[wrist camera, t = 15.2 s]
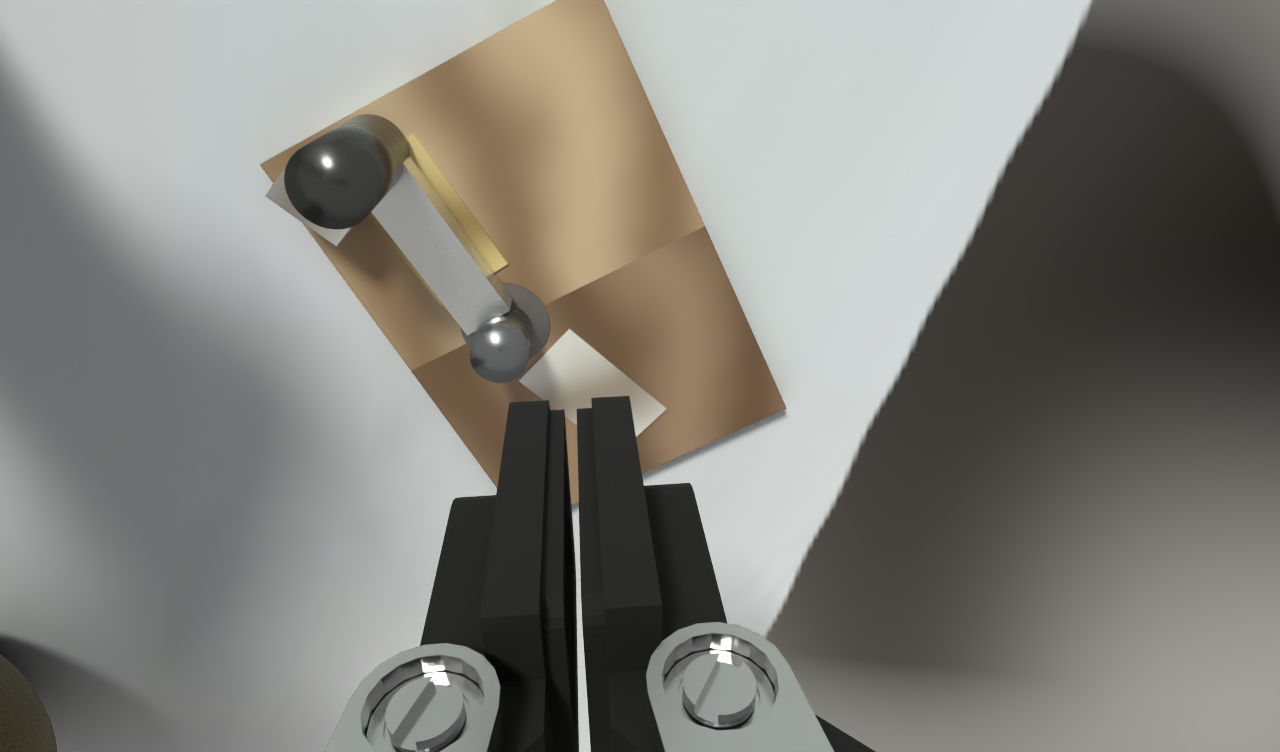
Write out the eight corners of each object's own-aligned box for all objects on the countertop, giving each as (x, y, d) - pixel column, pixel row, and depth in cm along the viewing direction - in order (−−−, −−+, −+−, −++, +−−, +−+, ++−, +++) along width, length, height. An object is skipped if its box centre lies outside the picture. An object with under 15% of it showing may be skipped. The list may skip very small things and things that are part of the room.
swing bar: (545, 333, 33) (541, 398, 28) (494, 362, 34) (480, 432, 28) (378, 99, 28) (335, 125, 23) (320, 138, 28) (265, 171, 23)
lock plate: (525, 516, 39) (522, 556, 36) (266, 160, 30) (235, 178, 27) (782, 400, 37) (800, 433, 35) (593, -20, 28) (596, -22, 25)
